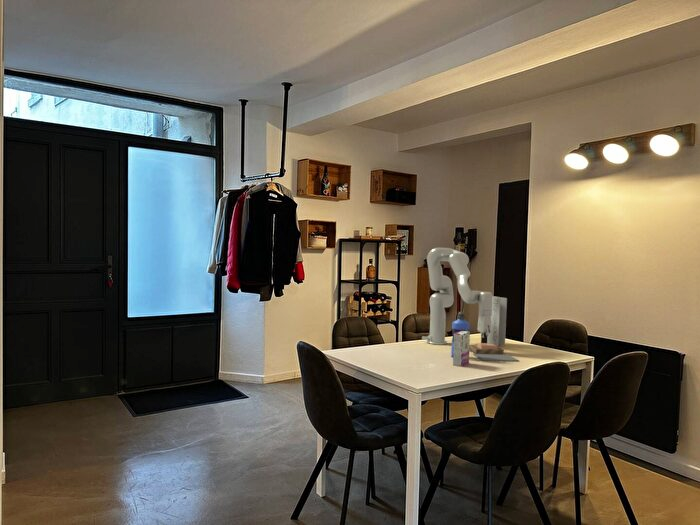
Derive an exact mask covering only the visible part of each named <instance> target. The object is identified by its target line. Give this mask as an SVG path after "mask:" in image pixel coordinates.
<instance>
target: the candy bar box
mask: <svg viewBox="0 0 700 525" xmlns="http://www.w3.org/2000/svg"><path fill="white" fill-rule="evenodd" d="M470 334H471V333H470V331H469V332H466V331H460V332H458V333H455V334H454V352H453V358H452V360H453V361H452V365H453V366H456V367H461V368H462V367H463V366H466V365H467V364H469V363H470V351H469V345H471V344H470V341H471V340H470V339H471V336H470Z"/></svg>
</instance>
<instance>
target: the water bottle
mask: <svg viewBox="0 0 700 525" xmlns="http://www.w3.org/2000/svg"><path fill="white" fill-rule="evenodd" d="M457 314H458V315H457V316H456V317H457V319H456V320H453V321H452V322H451V328H452V339H451V352H450V353H451V355H450V356H451V358H452V359H453V352H454V334H455V333H458V332H460V331H466V332H470V324H471V323H470V322H468V320H466V314H465V312H464V311H459V312H458V313H457Z"/></svg>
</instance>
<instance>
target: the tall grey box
mask: <svg viewBox="0 0 700 525" xmlns="http://www.w3.org/2000/svg"><path fill="white" fill-rule="evenodd" d="M507 304H508V298H507V297H500V296H493V297H492V316H491V332H490V333H489V335H488V338H487V343H493V344H495V345H497V347H499V346H501V345H504V346H503V347H506V331H507V330H506V328H507V309H508V308H507V307H508V305H507Z"/></svg>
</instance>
